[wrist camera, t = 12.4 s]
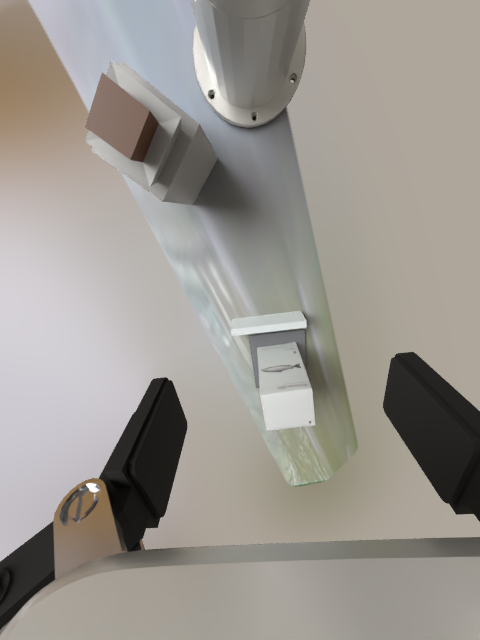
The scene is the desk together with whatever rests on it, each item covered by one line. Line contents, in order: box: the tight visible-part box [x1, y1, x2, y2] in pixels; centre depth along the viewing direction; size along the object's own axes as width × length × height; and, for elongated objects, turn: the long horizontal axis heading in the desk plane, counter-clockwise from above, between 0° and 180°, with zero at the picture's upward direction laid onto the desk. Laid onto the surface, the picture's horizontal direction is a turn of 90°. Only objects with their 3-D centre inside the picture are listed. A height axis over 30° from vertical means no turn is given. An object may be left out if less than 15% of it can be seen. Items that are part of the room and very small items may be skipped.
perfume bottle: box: [85, 61, 218, 205], centre depth 23 cm, size 7×7×18 cm
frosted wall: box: [231, 311, 307, 336], centre depth 39 cm, size 1×12×4 cm, turn 98°
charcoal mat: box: [249, 329, 306, 388], centre depth 44 cm, size 12×10×1 cm
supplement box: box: [257, 342, 316, 431], centre depth 38 cm, size 7×7×13 cm
